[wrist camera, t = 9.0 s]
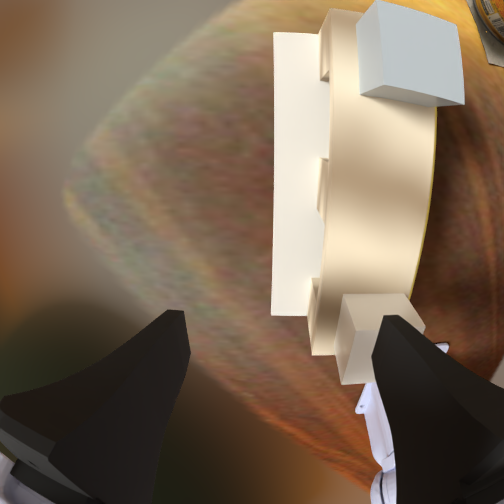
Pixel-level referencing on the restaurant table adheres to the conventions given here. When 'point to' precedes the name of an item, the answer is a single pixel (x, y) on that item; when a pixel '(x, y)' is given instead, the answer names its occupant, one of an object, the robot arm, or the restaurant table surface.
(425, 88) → the light grey square block
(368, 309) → the block
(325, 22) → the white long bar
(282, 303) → the dock
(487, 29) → the condiment
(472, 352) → the restaurant table surface
